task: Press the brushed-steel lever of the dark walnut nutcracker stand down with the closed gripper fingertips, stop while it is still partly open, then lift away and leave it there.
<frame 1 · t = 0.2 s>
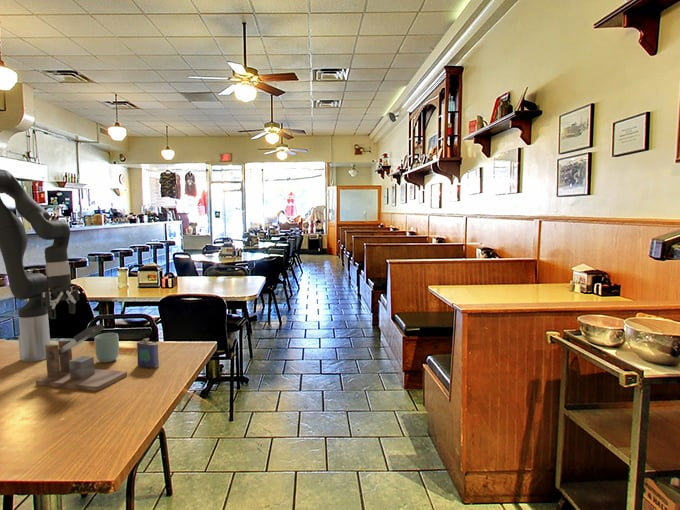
hand: (62, 316, 159), 18 cm above the table, tool pointing down, fingers open, 8 cm apart
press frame: (60, 378, 144), on the table
cup: (108, 361, 161), on the table
flask: (148, 367, 155), on the table
lever: (75, 341, 141), point 13 cm above the table, hinge at 30.0°
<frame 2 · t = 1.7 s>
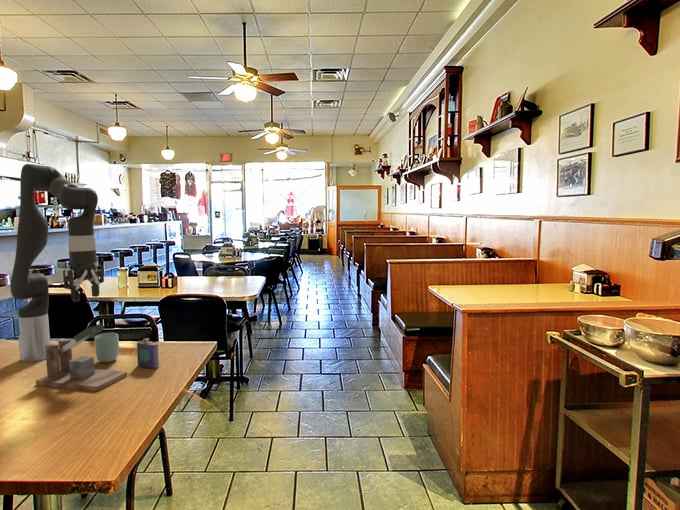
hand: (86, 298, 139), 28 cm above the table, tool pointing down, fingers open, 7 cm apart
nothing on the table moved.
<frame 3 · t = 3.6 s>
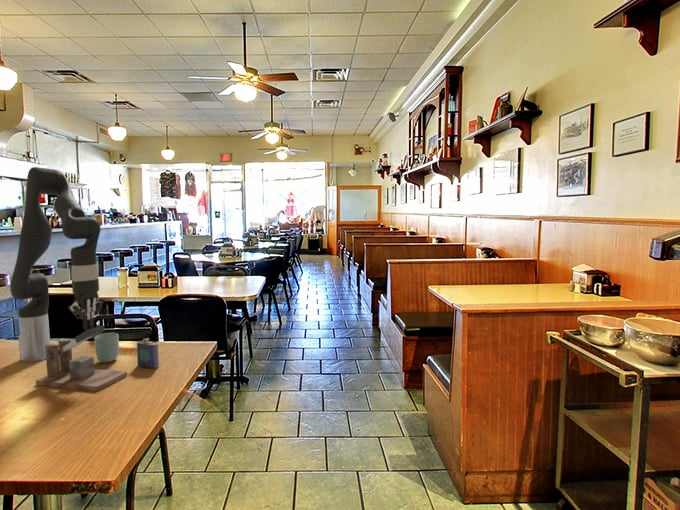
hand: (88, 329, 139), 18 cm above the table, tool pointing down, fingers closed
lever: (76, 341, 141), point 13 cm above the table, hinge at 28.5°, touching gripper
everything else where it was.
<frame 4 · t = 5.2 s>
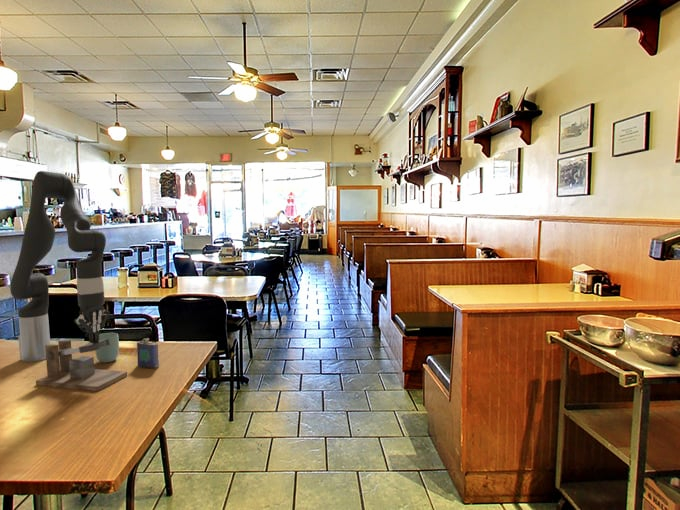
hand: (94, 342, 139), 14 cm above the table, tool pointing down, fingers closed
lever: (78, 348, 141), point 11 cm above the table, hinge at 12.2°, touching gripper
everything else where it was.
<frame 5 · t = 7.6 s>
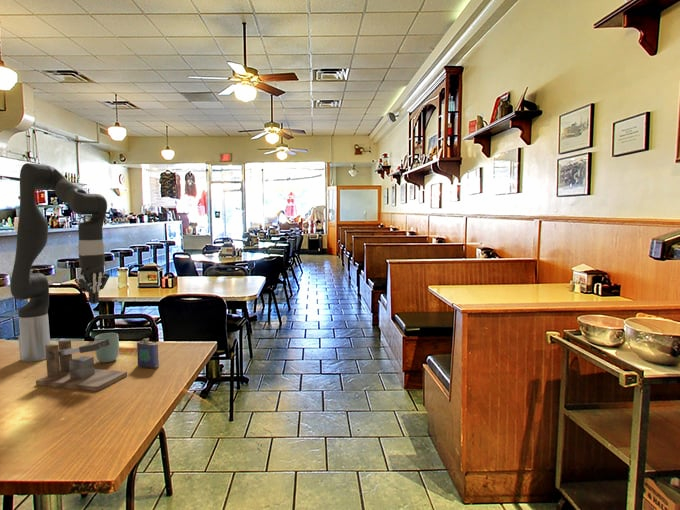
hand: (94, 303, 144), 26 cm above the table, tool pointing down, fingers closed
lever: (78, 348, 141), point 11 cm above the table, hinge at 12.1°
everything else where it was.
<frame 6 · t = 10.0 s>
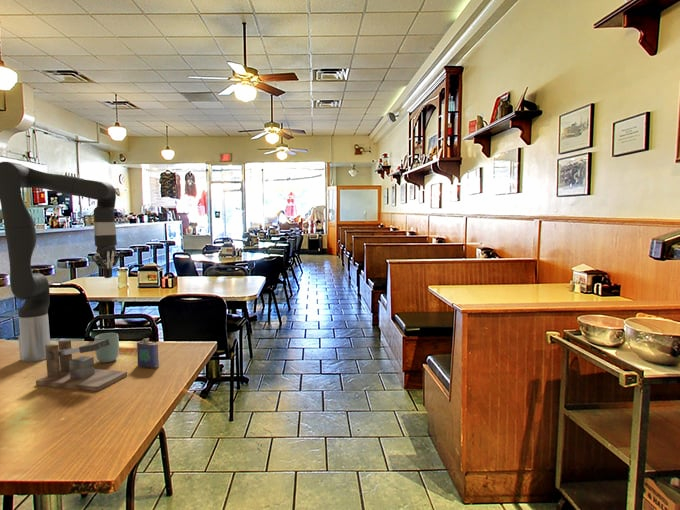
hand: (108, 277, 165), 31 cm above the table, tool pointing down, fingers closed
nothing on the table moved.
at the end: lever at +12° (first picture: +30°); the gripper is holding nothing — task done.
